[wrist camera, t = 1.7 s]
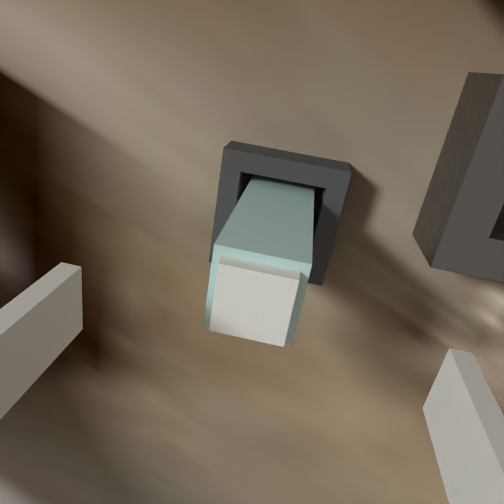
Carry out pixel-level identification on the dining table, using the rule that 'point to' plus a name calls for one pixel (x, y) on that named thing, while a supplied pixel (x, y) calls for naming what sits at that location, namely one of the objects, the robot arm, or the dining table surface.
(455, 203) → the port panel
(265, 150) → the holster
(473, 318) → the dining table surface
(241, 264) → the plug
